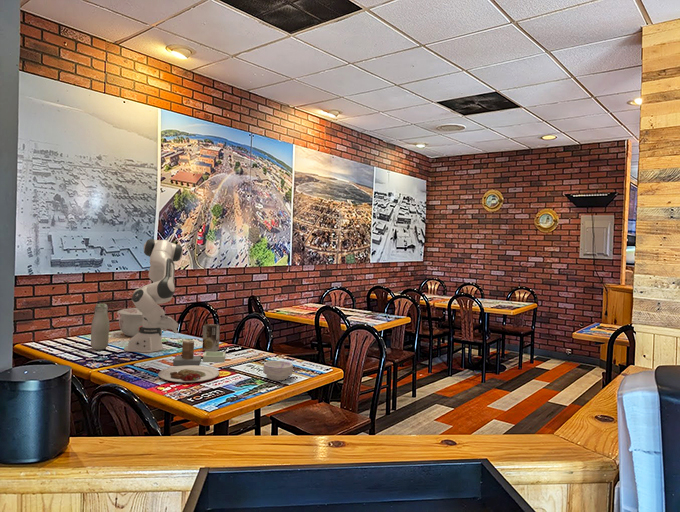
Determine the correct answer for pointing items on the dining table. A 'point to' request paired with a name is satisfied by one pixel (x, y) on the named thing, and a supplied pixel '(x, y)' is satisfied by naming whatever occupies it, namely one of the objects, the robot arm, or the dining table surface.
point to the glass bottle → (100, 327)
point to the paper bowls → (277, 370)
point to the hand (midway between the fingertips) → (171, 331)
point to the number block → (188, 349)
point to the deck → (186, 361)
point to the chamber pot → (130, 321)
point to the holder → (214, 357)
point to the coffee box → (211, 337)
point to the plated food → (188, 373)
